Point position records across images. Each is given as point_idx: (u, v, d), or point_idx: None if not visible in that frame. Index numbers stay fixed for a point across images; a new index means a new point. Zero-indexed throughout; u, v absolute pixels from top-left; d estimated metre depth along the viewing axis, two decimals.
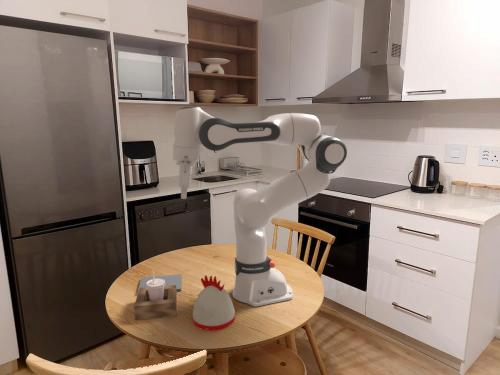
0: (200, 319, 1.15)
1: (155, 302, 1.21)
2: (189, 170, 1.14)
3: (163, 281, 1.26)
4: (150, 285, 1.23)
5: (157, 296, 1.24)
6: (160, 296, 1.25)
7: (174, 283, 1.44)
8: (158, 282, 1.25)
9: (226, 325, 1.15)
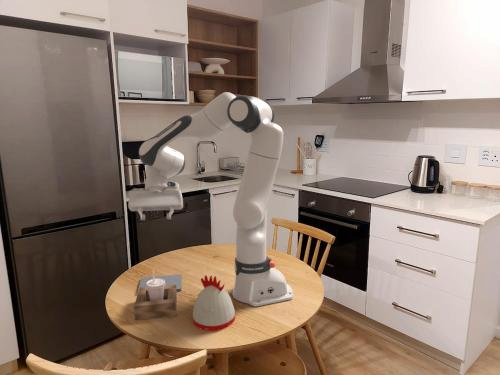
0: (200, 319, 1.15)
1: (155, 302, 1.21)
2: (130, 195, 1.39)
3: (163, 281, 1.26)
4: (150, 285, 1.23)
5: (157, 296, 1.24)
6: (160, 296, 1.25)
7: (174, 283, 1.44)
8: (158, 282, 1.25)
9: (226, 325, 1.15)
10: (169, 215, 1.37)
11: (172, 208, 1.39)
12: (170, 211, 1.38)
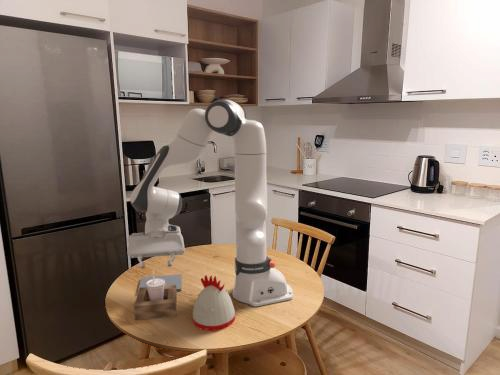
0: (200, 319, 1.15)
1: (155, 302, 1.21)
2: (129, 241, 1.33)
3: (163, 281, 1.26)
4: (150, 285, 1.23)
5: (157, 296, 1.24)
6: (160, 296, 1.25)
7: (174, 283, 1.44)
8: (158, 282, 1.25)
9: (226, 325, 1.15)
10: (170, 262, 1.31)
11: (173, 254, 1.33)
12: (171, 258, 1.32)
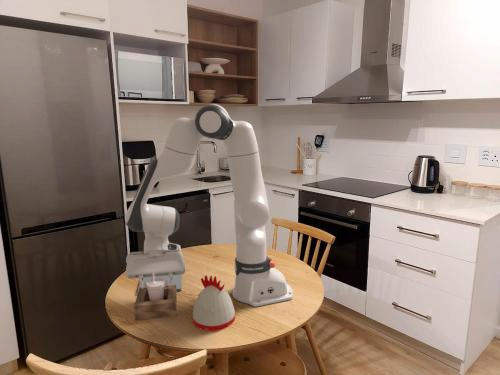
0: (200, 319, 1.15)
1: (155, 302, 1.21)
2: (128, 260, 1.28)
3: (163, 281, 1.26)
4: (150, 285, 1.23)
5: (157, 296, 1.24)
6: (160, 296, 1.25)
7: (174, 283, 1.44)
8: (158, 282, 1.25)
9: (226, 325, 1.15)
10: (168, 283, 1.26)
11: (171, 275, 1.27)
12: (169, 278, 1.26)
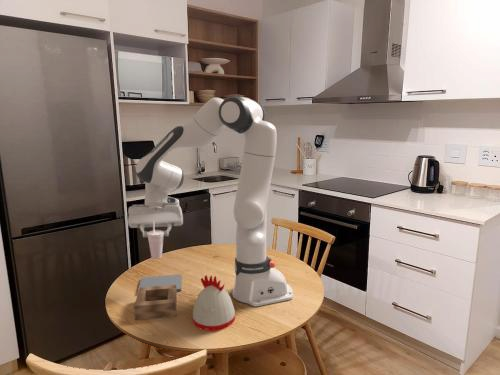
0: (200, 319, 1.15)
1: (155, 302, 1.21)
2: (130, 211, 1.38)
3: (162, 231, 1.37)
4: (150, 234, 1.34)
5: (157, 244, 1.34)
6: (159, 245, 1.35)
7: (174, 283, 1.44)
8: (158, 232, 1.35)
9: (226, 325, 1.15)
10: (167, 232, 1.36)
11: (170, 225, 1.38)
12: (168, 228, 1.37)
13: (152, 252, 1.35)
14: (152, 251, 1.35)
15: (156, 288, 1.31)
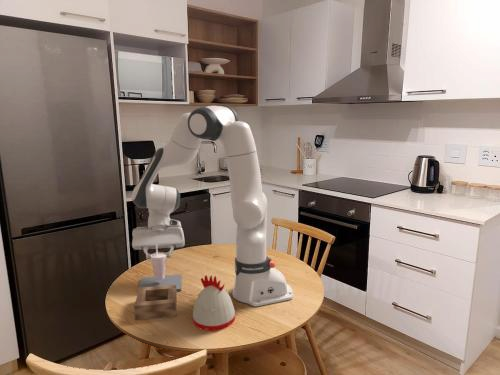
0: (200, 319, 1.15)
1: (155, 302, 1.21)
2: (134, 234, 1.44)
3: (165, 254, 1.42)
4: (154, 257, 1.40)
5: (160, 266, 1.40)
6: (162, 267, 1.41)
7: (174, 283, 1.44)
8: (161, 254, 1.41)
9: (226, 325, 1.15)
10: (169, 254, 1.42)
11: (172, 247, 1.43)
12: (170, 250, 1.43)
13: (155, 274, 1.41)
14: (155, 273, 1.41)
15: (156, 288, 1.31)
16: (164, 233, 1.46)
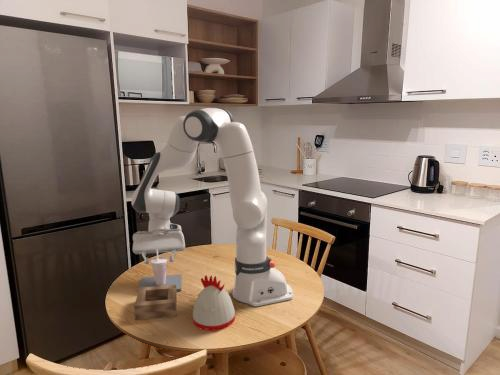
0: (200, 319, 1.15)
1: (155, 302, 1.21)
2: None
3: (166, 259, 1.43)
4: (154, 262, 1.40)
5: (161, 271, 1.40)
6: (163, 272, 1.41)
7: (174, 283, 1.44)
8: (161, 260, 1.42)
9: (226, 325, 1.15)
10: (172, 258, 1.42)
11: (175, 251, 1.44)
12: (173, 254, 1.43)
13: (156, 279, 1.41)
14: (156, 278, 1.41)
15: (156, 288, 1.31)
16: (164, 237, 1.46)
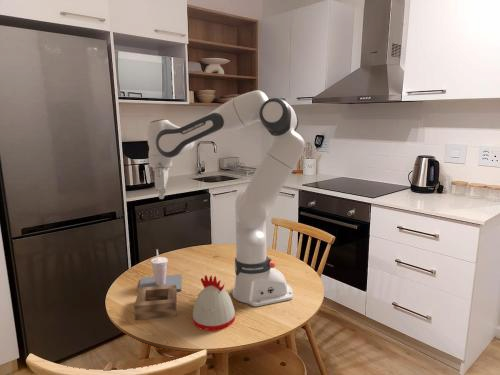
0: (200, 319, 1.15)
1: (155, 302, 1.21)
2: (163, 174, 1.35)
3: (166, 259, 1.43)
4: (154, 262, 1.40)
5: (161, 271, 1.40)
6: (163, 272, 1.41)
7: (174, 283, 1.44)
8: (161, 260, 1.42)
9: (226, 325, 1.15)
10: (165, 191, 1.51)
11: None
12: (165, 187, 1.51)
13: (156, 279, 1.42)
14: (156, 278, 1.41)
15: (156, 288, 1.31)
16: (165, 171, 1.46)
